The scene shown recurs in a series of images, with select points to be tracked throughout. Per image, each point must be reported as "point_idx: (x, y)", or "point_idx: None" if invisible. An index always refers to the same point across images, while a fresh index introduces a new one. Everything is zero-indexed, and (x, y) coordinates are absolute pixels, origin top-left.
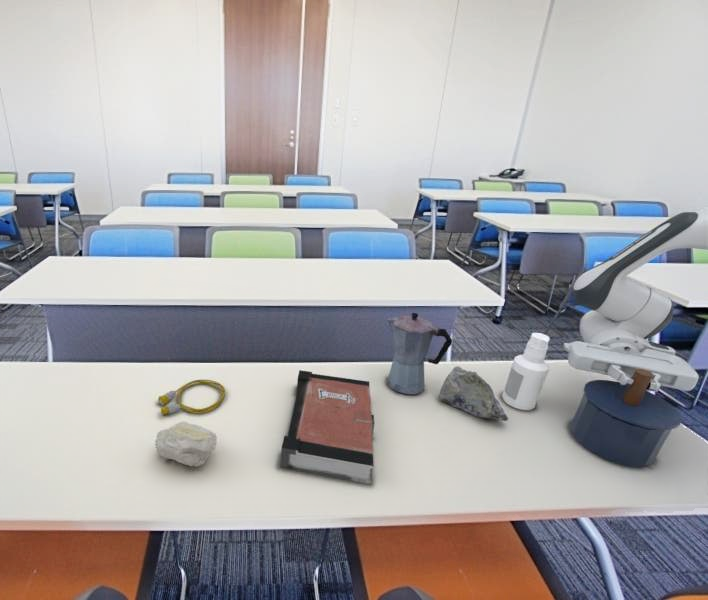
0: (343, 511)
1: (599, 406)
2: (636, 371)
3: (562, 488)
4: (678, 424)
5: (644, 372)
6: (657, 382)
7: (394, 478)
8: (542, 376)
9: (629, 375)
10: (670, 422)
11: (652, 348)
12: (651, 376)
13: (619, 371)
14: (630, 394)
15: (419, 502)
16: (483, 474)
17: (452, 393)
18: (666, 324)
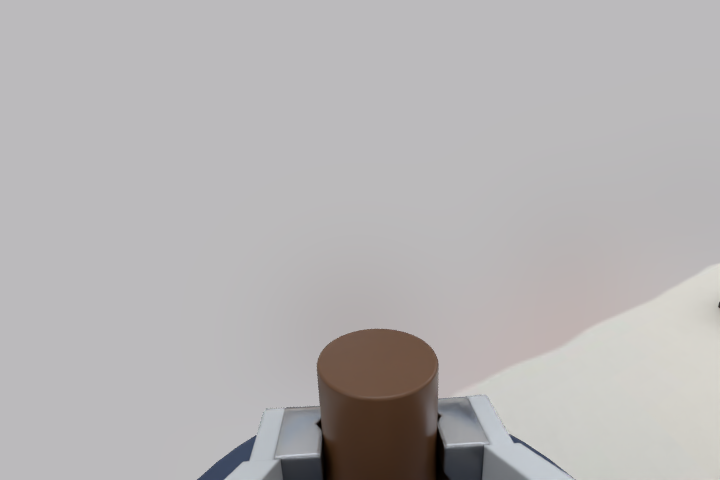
0: (688, 282)
1: (528, 448)
2: (433, 351)
3: (506, 409)
4: (218, 462)
5: (378, 355)
6: (269, 427)
7: (713, 322)
8: None
9: (458, 432)
10: (249, 458)
11: None
12: (344, 335)
13: (540, 460)
14: None
15: (648, 311)
16: (636, 377)
17: None
18: None
